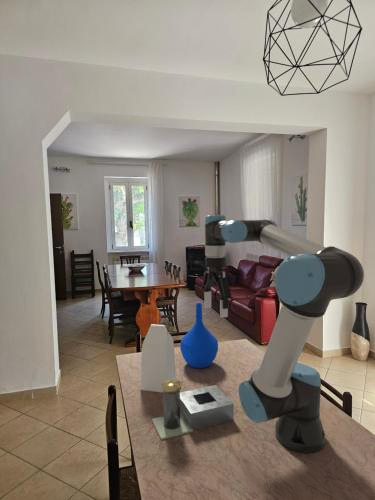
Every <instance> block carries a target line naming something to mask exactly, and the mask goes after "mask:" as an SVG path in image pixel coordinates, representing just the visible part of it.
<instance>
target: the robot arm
mask: <svg viewBox="0 0 375 500" xmlns="http://www.w3.org/2000/svg"><path fill="white" fill-rule="evenodd" d="M204 237H205V238H204V239H205V240H204V244H205V245H204V255H205V258H204V259H205V260H204V261H205V262H204V263H205V267H204V275H203V279H202V285H201V289H202V290H203V293H204V295H203V296H204V298H203V299H204V301H203V303H204V306H203V307H204V309H211V308H212V287H213V285H214V283H215V285H216V287H217V290H218V293H219V297H220V298H219V314H220V315H219V317H220V319H221V318H228V316H229V310H228V309H229V306H228V305H229V304H228V303H229V300H231V299H232V294H231V287H230V284H229V280H228V273H227V271H223V268H225V267H226V257H225V256H226V250H227V247H226V242H227V243H231V244H236V243H241V242H242V243H243V242H246V243H247V242H259V243H260V244H261V245H265V246H266V247H268V248H270V249H271V250H274V251H275V252H277V253H280V254H281V255H283V256H285V257H286V258H285V259H284V260H283V261H282V262H281V263H280V264H279V266H278V267H277V268H276V269H277V270H276V272H275V276H274V284H276V286H274V288H275V291H276V294H277V297H278V300H279V303H280V304H281V307H280V310H279V313H278V315H277V318H276V322H275V324H274V328H273V329H272V332H271V335H270V339H269V341H268V344H267V347H266V350H265V353H264V355H263V358H262V361H261V364H260V365H257V366H256V367H255V368H254V369H252V373H251V376H250V379H249V380H244V381H241V382H240V384H239V386H238V390H237V391H238V392H237V393H238V399H239V402H240V405H241V407H242V410H243V412H244V413H245V415H246V416H247V418H249V420H250V421H251V422H253V423H255V424H259V423H267V422H268V421H271V420H272V421H273V420H274V419H277V421H276V423H275V426H274V428H275V429H274V434H275V437H276V439H277V441H278V442H279V443H280V444H281V445H282V446H283V447H285V448H287V449H289V450H292V451H294V452H298V453H302V454H303V453H304V454H312V453H313V454H314V453H317V452H319V451H321V450H322V449H324V448H325V445H326V434H325V430H324V426H323V423H322V420H321V417H320V416H321V414H320V413H321V389H322V388H321V387H322V383H321V374H320V373H319V371H318V370H316V368H314V367H312V366H310V365H308V364H305V363H304V364H303V363H299V359H300V357H301V354H302V352H303V349H304V347H305V345H306V342H307V339H308V338H309V335H310V333H311V331H312V327H313V325H314V322H315V321H316V319H320V318H322V317H324V315H325V314H326V312H327V309H328V307H329V306H330V303H331V301H333V300H339V299H344V298H349V297H350V296H353V295H354V294H355V293H357V292H358V291H359V290H360V288H361V287H362V285H363V282H364V277H365V273H364V268H363V266H362V263H361V262H360V260H359V259H358V258H357V257H356V256H354V255H353V254H352V253H349V252H348V251H345V250H344V249H341V248H338V247H336V246H333V245H331V246H330V245H329V246H324V245H321V244H320V243H319V244H318V243H316V242H314V241H312V240H309V239H307V238H305V237H303V236H300V235H297V234H295V233H293V232H291V231H288V230H286V229H283V228H281V227H279V226H278V225H277V223H276V222H275V221H274V220H271V219H249V220H248V219H247V220H245V219H244V220H242V219H239V220H238V219H230V220H226V216H225V215H224V214H223V215H222V214H214V215H213V214H212V215H211V214H210V215H206V216H205V221H204Z"/></svg>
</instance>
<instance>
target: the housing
mask: <svg viewBox="0 0 375 500" xmlns="http://www.w3.org/2000/svg"><path fill="white" fill-rule="evenodd" d="M234 408H235V407H234V402H233V401H232V400H231V399H230V398H229V397H228V396H227V394H225V393H224V392H223V391H222V390H221V389H220V388H219V387H218V386H217V385H216V384H215V385H210V386H205V387H199V388H195V389H190V390H187V391H186V390H185V391H182V392H181V391H180V413H181V414H182V416H183V417H184V419H185V421H186V422H187V424H188V425H189V427H190V428H191V429H193V431H196V430H200V429H204V428H208V427H211V426H212V427H213V426H215V425H220V424H223V423H226V422H231V421H233V420H235V419H234V418H235V417H234V416H235V415H234V412H235V411H234V410H235V409H234Z"/></svg>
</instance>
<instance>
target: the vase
mask: <svg viewBox="0 0 375 500" xmlns="http://www.w3.org/2000/svg"><path fill="white" fill-rule="evenodd" d="M202 306H203V305H202V303H201V302H196V304H195V322H194V325H193V326H192V328H191V329H190V330H189V331H187V333H186V334H185V335H184V336H183V337H181V341H180V345H179V348H180V352H181V355H182V357H183V359H184V361H185V363H186V364H187V365H189V366H190V367H192V368H195V369H203V368H204V369H205V368H207V367H209V366H210V365H212V363H213V362H214V361H215V359H216V357H217V355H218V351H219V343H218V339H217V338H216V336H215V335H214V334H212V332H210V330H208V329H207V327H206V326H205V325H204V322H203V307H202Z"/></svg>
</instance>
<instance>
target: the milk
mask: <svg viewBox="0 0 375 500" xmlns="http://www.w3.org/2000/svg"><path fill="white" fill-rule="evenodd" d="M174 346H175V345H174V337H173V336H172V334H171V333H170V332H169V331H168V330H167V327H166V325H165V324H157V323H156V324H155V323H151V324H150V327H149V329H148V331H147V333H146V335H145V338H144V340H143V342H142V345H141V363H140V366H141V368H140V391H148V392H157V393H163V390H162V383H163V382H164V381H166V380H170V379H174V380H177V374H176V373H177V372H176V360H175V359H176V357H175V347H174Z"/></svg>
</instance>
